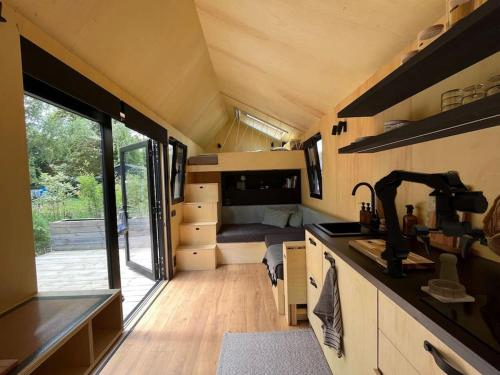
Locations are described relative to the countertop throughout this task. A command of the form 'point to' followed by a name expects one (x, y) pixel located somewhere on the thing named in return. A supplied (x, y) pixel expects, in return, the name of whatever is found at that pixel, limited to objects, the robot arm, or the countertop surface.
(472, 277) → the countertop surface
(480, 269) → the countertop surface
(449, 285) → the shaker holder
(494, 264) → the countertop surface
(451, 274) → the cork
